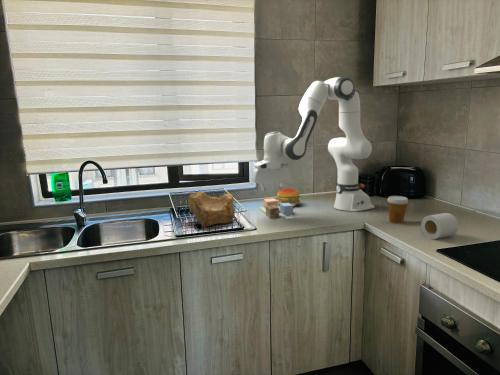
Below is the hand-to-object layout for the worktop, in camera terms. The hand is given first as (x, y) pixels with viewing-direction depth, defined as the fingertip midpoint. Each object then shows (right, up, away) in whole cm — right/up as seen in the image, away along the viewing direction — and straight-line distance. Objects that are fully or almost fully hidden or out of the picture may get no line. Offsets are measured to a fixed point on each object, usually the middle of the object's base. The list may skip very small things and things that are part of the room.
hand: (272, 190), depth 190 cm
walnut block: (0, -14, +3) cm, 14 cm away
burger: (+11, -9, +25) cm, 28 cm away
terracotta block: (0, -10, +13) cm, 17 cm away
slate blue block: (+8, -12, +8) cm, 17 cm away
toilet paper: (+70, -20, -31) cm, 79 cm away
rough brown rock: (-31, -17, -8) cm, 36 cm away
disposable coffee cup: (+60, -15, -9) cm, 63 cm away
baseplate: (0, -11, +13) cm, 17 cm away
